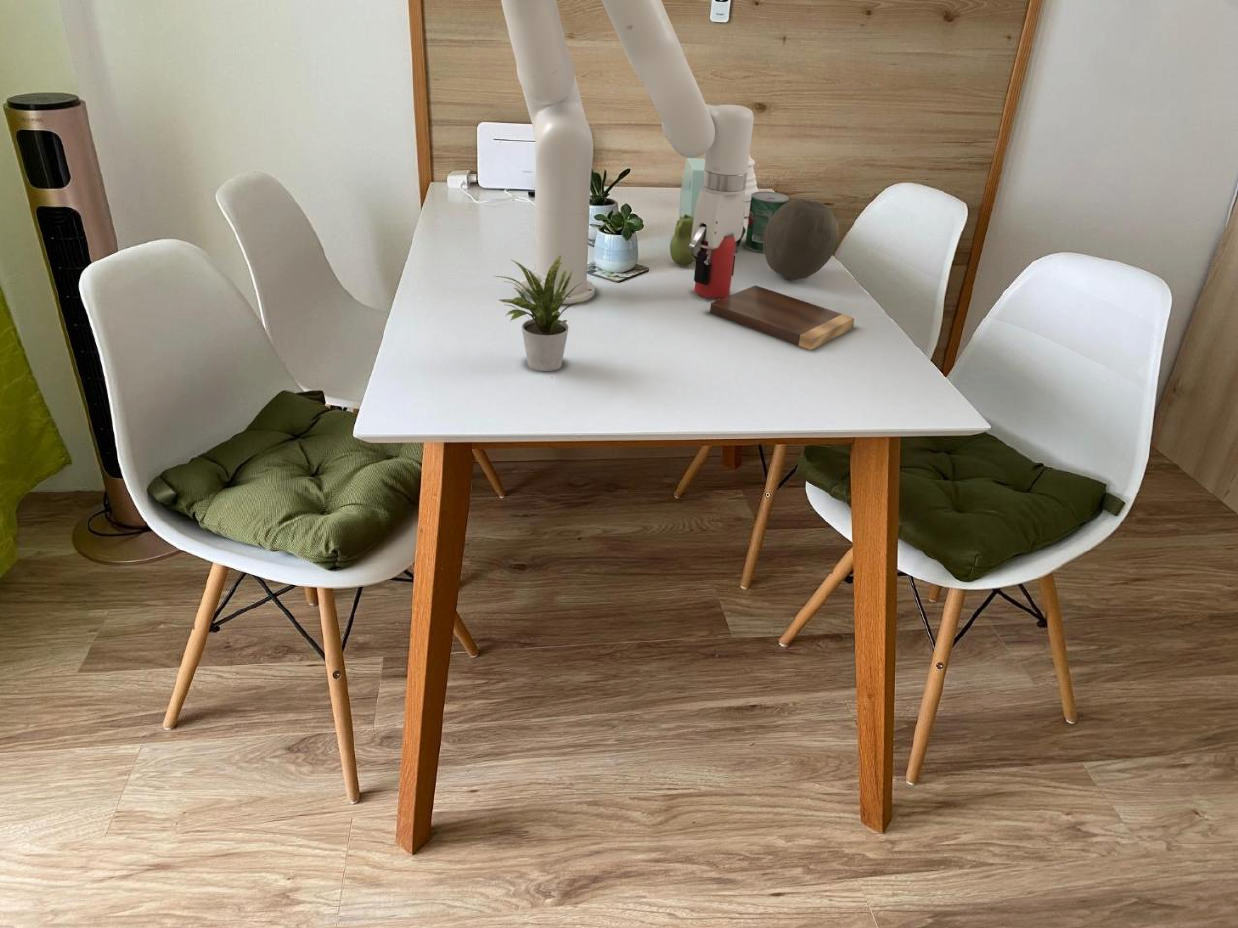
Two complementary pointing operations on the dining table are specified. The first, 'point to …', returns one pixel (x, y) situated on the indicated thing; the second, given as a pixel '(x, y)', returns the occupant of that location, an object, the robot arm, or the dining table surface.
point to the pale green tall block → (691, 185)
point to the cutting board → (782, 316)
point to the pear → (682, 241)
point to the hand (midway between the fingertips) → (713, 278)
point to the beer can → (719, 270)
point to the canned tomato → (761, 216)
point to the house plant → (543, 318)
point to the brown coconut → (800, 238)
